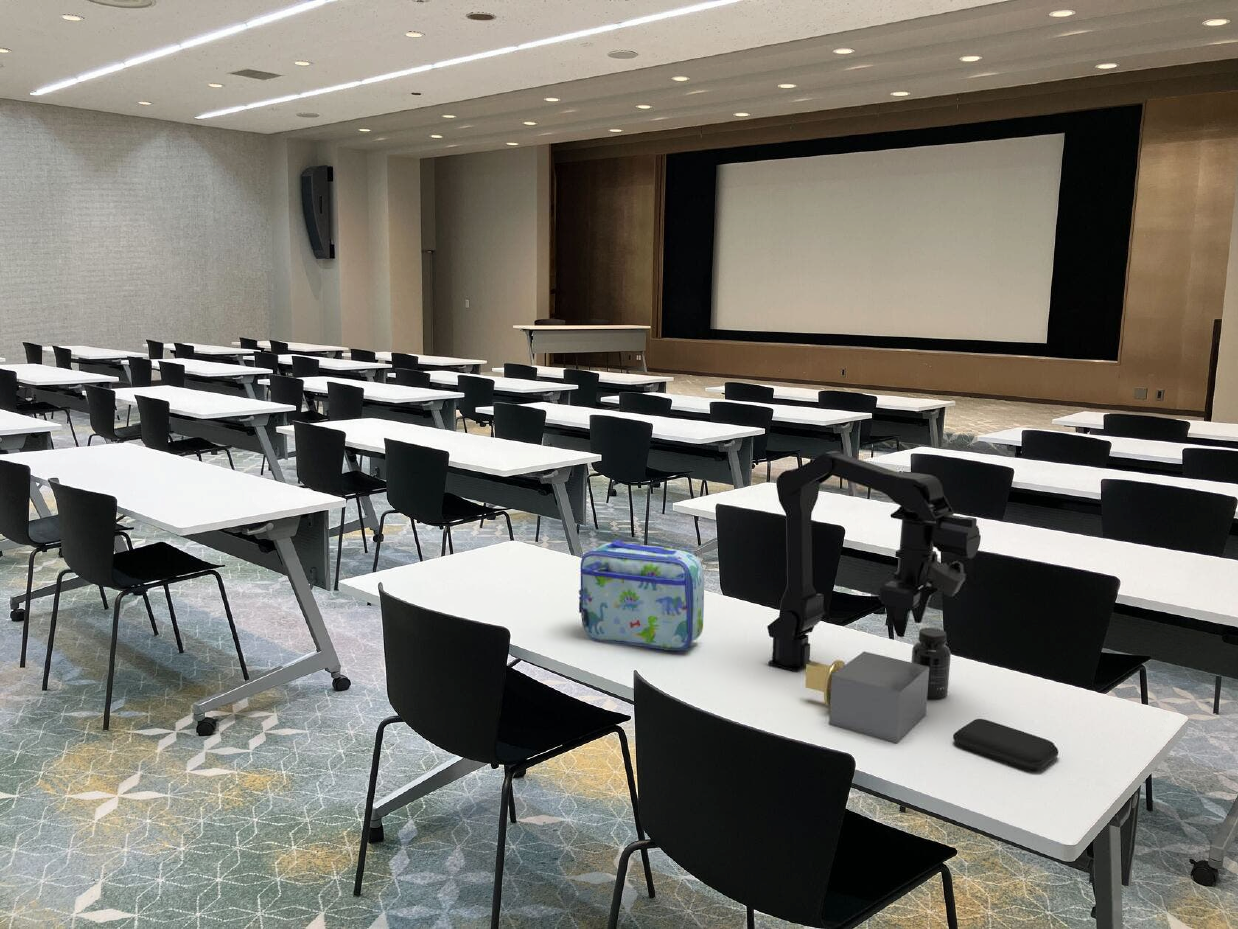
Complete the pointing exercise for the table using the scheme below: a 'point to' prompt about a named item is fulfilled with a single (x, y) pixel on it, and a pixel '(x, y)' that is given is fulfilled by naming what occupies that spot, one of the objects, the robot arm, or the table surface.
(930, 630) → the supplement bottle
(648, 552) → the lunch box
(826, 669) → the end cover
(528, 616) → the table surface
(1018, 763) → the carrying case or bag
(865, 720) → the block
